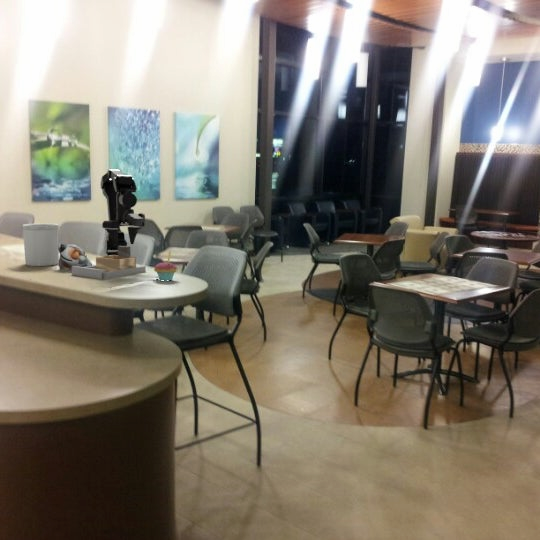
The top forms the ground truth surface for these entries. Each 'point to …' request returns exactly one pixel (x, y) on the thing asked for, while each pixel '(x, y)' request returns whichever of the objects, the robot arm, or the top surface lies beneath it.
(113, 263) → the crate
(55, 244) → the utensil holder
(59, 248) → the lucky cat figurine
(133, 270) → the tray
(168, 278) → the cupcake
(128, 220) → the robot arm
